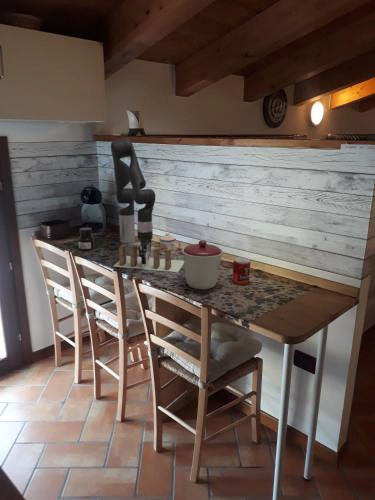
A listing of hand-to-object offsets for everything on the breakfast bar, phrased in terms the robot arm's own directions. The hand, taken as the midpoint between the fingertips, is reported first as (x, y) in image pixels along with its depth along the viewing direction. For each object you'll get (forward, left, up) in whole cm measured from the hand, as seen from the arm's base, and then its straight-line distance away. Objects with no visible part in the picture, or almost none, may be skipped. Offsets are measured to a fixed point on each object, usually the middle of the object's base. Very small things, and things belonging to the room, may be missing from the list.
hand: (145, 262), depth 197 cm
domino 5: (0, +12, -2) cm, 12 cm away
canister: (+18, +32, -3) cm, 37 cm away
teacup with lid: (-25, +6, -3) cm, 26 cm away
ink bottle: (-22, -43, -3) cm, 49 cm away
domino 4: (0, +6, -2) cm, 6 cm away
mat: (-5, +1, -3) cm, 6 cm away
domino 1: (0, -12, -2) cm, 12 cm away
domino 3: (0, 0, -2) cm, 2 cm away
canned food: (+9, +49, -3) cm, 50 cm away
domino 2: (0, -6, -2) cm, 6 cm away
